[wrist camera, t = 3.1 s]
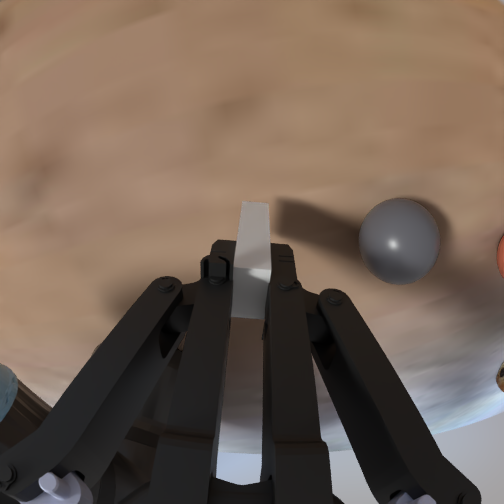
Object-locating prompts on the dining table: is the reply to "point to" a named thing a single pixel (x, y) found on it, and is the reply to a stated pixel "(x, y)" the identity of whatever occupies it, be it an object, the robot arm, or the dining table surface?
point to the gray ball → (399, 241)
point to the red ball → (501, 256)
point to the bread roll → (500, 377)
